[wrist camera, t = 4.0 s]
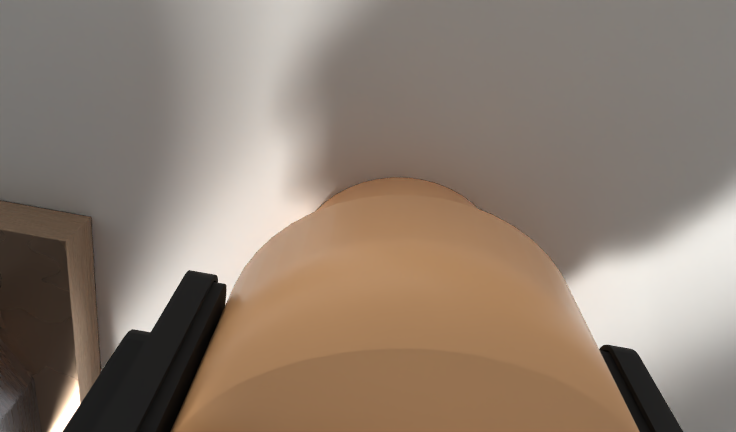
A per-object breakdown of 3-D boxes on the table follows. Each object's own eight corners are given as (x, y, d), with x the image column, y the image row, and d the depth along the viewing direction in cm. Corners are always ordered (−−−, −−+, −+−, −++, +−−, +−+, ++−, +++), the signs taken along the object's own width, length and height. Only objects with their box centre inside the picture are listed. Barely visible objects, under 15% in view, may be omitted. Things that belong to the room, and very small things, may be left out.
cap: (586, 170, 13) (776, 407, 6) (491, 395, 16) (555, 688, 10) (271, 108, 12) (147, 297, 6) (245, 352, 16) (149, 631, 9)
